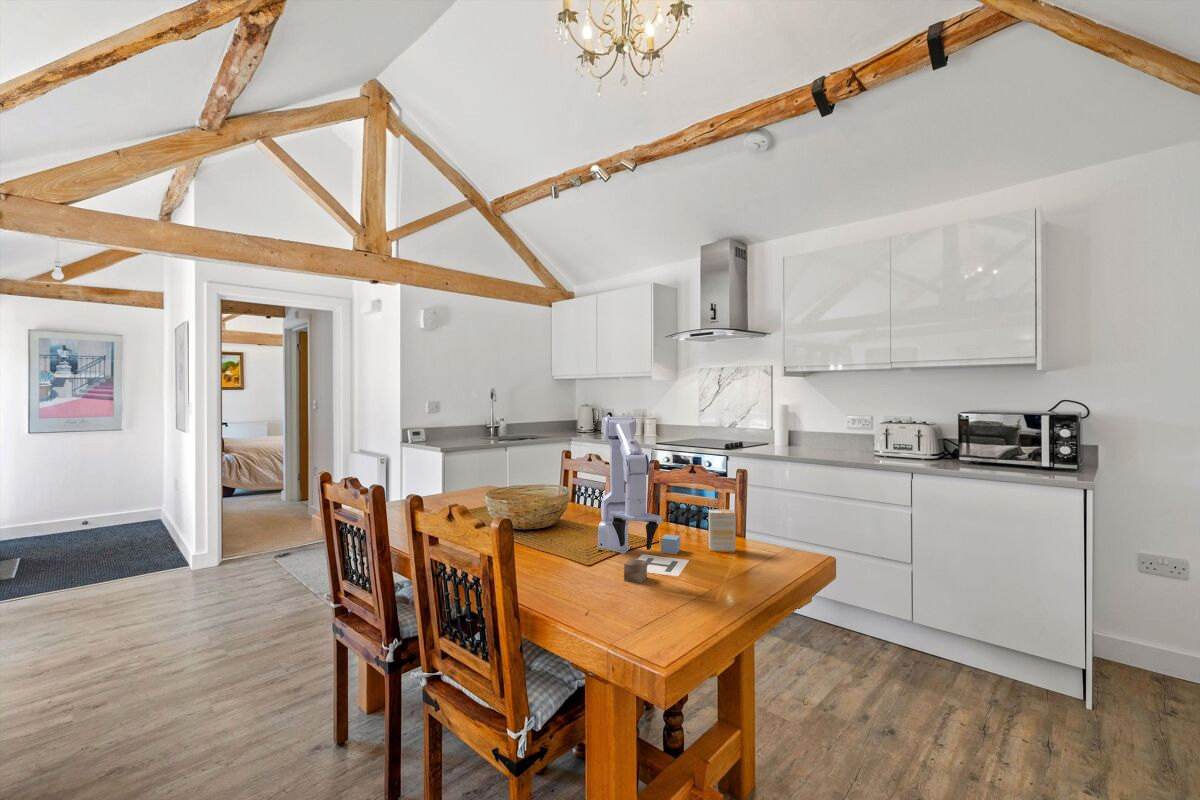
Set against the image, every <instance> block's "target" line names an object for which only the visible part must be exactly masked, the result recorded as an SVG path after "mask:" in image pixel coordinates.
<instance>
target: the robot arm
mask: <svg viewBox="0 0 1200 800" xmlns="http://www.w3.org/2000/svg"><path fill="white" fill-rule="evenodd" d="M637 429H638V425H637V420H636V417H635V416H605V417H604V419H603V440H604V441H605V442H608V443H609V448H610V449H609V454H610V455H609V460H610V461H609V462H610V463H609V465H610V467H609V468H610V470H609V471H610V473H609V474H610V475H609V477H610V479H609V481H610V483H609V485H610V487H609V488H610V491H609V492H608V493H606V494H605V495H604V496H603V497H602V499H601V505H600V506H601V507H600V514H601V515H600V517H601V521H600V522H599V524H598V529H597V549H598V548H604V549H609V550H614V551H620V553H619V554H626V553H627V552H628V551H629V550H630V549H631V548H630V547H629V548H628V545H629V543H628V541H629V536H628V535H629V534H628V533H629V524H630V522H641V523H647V524H645V530H646V550H648V551H649V550H651V549H652V543H653V540H654V536H655V534H656V531H657V528H658V527H659V525H661V524H662V523H663V515H660V514H659V515H658V514H653V513H648V512H647V476H649V473H650V459H649V456H648V454H647V453H645V452H643V449H642V448H641V445H640V443H639V441H638V440H636V439H635V438H634V436H635V435H636V434H637Z"/></svg>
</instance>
